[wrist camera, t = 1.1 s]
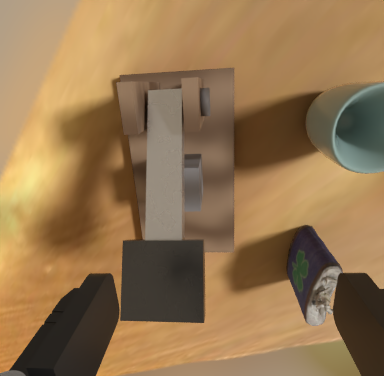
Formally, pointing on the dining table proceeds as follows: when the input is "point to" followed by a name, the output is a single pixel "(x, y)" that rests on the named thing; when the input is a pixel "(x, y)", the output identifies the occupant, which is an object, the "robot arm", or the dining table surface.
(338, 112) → the cup
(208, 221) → the frame
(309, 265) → the flask
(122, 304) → the lever
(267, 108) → the dining table surface
